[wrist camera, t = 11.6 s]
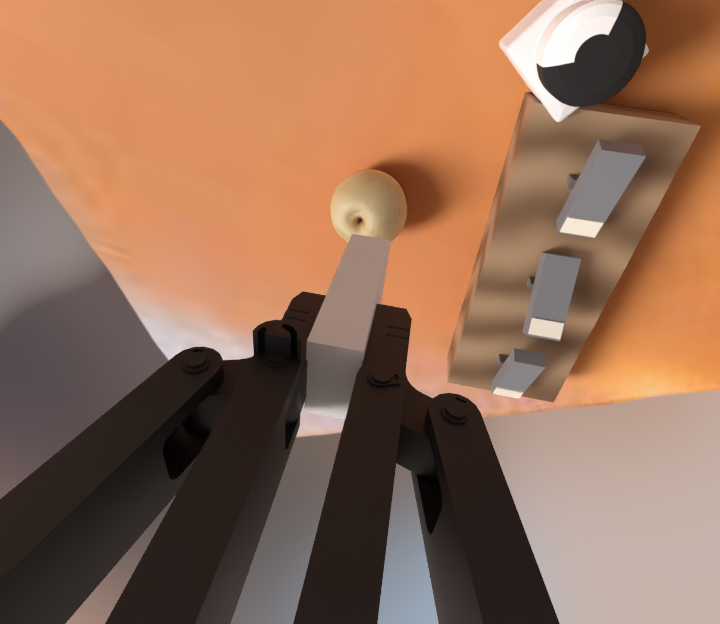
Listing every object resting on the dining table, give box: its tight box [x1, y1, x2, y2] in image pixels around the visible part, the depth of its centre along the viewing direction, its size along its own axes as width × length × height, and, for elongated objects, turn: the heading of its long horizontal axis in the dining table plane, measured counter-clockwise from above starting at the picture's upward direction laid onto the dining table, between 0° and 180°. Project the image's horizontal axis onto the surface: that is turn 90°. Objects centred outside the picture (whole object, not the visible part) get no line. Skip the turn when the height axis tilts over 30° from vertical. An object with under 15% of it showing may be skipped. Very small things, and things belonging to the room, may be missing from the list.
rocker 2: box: [522, 253, 581, 341], centre depth 42 cm, size 8×3×2 cm, turn 175°
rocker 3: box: [556, 139, 646, 238], centre depth 36 cm, size 8×3×2 cm, turn 173°
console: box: [448, 93, 701, 402], centre depth 45 cm, size 32×13×6 cm, turn 174°
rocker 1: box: [492, 348, 546, 399], centre depth 48 cm, size 8×3×2 cm, turn 173°
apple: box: [330, 169, 407, 243], centre depth 45 cm, size 8×8×8 cm
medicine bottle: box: [499, 0, 649, 122], centre depth 32 cm, size 7×7×12 cm
